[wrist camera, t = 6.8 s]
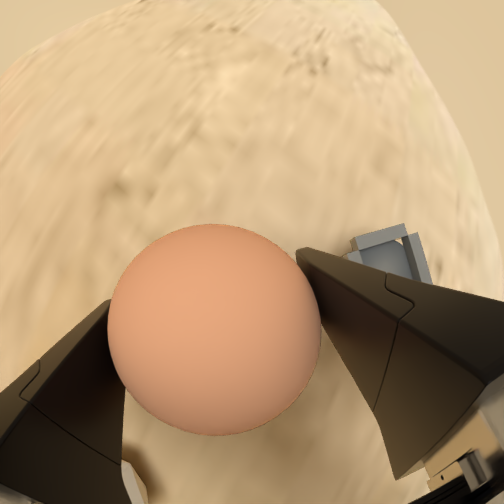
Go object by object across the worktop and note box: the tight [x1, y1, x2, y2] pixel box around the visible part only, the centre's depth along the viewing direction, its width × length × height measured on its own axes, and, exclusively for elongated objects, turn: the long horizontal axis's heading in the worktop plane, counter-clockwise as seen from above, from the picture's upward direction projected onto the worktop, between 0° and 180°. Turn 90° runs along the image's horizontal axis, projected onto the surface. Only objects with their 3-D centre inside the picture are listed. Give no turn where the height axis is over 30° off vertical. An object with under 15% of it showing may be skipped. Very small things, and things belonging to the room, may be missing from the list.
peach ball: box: [108, 224, 321, 436], centre depth 9 cm, size 6×6×6 cm
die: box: [121, 460, 149, 504], centre depth 16 cm, size 8×9×10 cm
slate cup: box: [342, 223, 433, 285], centre depth 20 cm, size 5×5×6 cm
